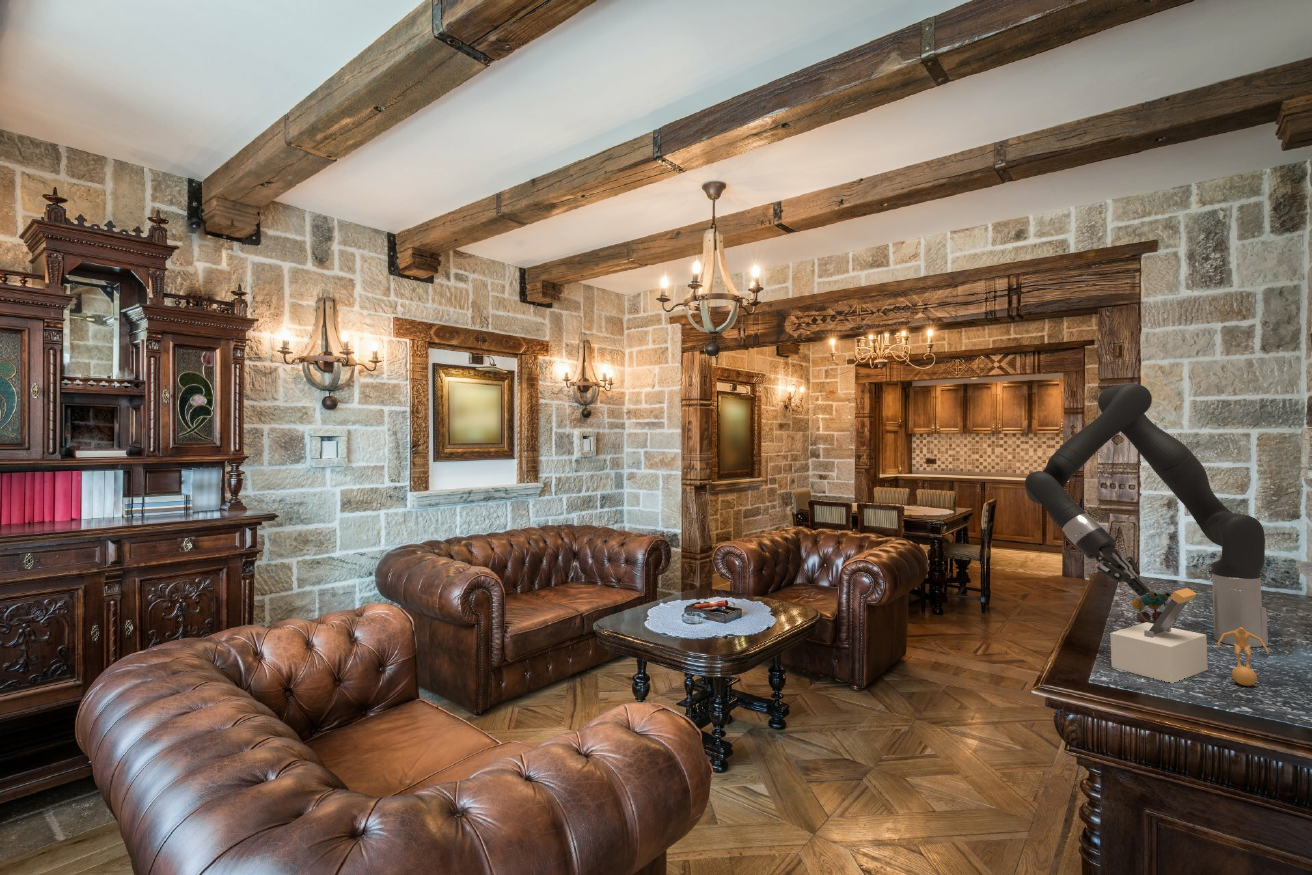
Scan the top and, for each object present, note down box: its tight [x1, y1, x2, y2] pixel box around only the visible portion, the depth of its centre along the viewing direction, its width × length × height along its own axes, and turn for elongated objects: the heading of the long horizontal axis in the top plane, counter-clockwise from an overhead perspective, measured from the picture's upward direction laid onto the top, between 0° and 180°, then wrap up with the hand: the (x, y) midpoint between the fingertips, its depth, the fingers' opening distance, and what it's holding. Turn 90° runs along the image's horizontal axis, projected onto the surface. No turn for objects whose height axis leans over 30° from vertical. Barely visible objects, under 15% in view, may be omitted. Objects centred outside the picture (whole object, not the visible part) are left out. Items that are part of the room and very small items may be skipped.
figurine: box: [1216, 627, 1270, 687], centre depth 136 cm, size 8×6×12 cm
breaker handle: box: [1149, 587, 1197, 635], centre depth 143 cm, size 2×6×12 cm, turn 118°
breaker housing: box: [1110, 622, 1209, 684], centre depth 146 cm, size 12×16×9 cm
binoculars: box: [1131, 590, 1178, 627], centre depth 178 cm, size 9×9×10 cm
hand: (1145, 593), depth 148 cm, fingers closed
